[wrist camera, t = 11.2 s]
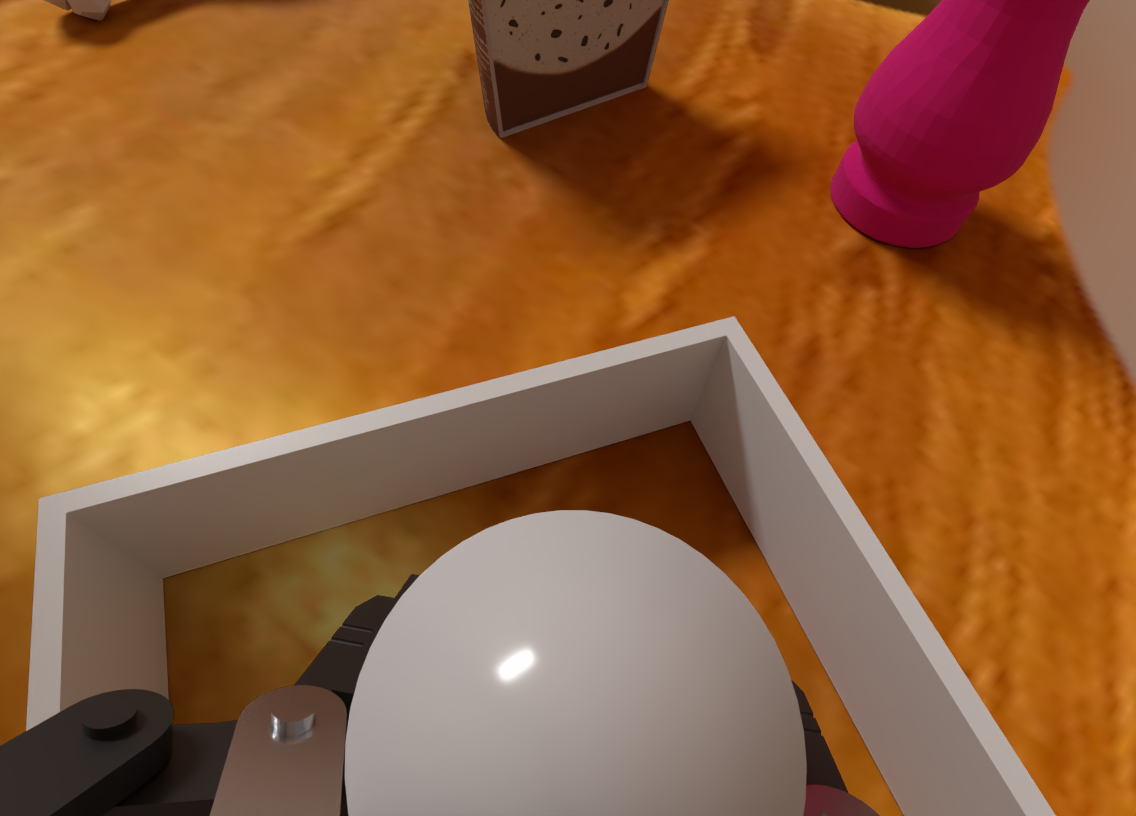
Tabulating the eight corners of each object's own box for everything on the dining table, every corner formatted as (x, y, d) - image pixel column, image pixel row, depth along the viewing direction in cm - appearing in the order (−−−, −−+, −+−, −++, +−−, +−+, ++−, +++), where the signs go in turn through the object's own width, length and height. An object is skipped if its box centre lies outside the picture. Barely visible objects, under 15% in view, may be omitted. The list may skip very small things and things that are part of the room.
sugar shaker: (470, 966, 13) (382, 1202, 5) (411, 704, 15) (289, 572, 7) (696, 858, 14) (932, 902, 6) (608, 631, 16) (691, 447, 8)
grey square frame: (173, 1653, 11) (-57, 2206, 6) (140, 566, 20) (39, 498, 16) (1064, 1062, 15) (1274, 1155, 11) (697, 403, 24) (734, 316, 20)
